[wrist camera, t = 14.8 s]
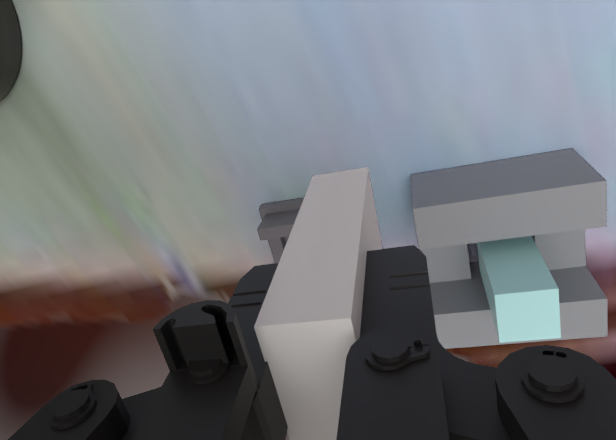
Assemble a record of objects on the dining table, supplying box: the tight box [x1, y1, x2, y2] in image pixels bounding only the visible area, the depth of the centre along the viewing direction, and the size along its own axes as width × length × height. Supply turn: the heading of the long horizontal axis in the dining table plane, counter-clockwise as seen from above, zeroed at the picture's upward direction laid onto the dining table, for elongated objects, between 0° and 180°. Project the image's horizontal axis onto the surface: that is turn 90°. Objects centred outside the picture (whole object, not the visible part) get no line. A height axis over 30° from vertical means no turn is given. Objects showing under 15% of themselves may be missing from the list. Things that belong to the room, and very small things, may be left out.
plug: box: [477, 236, 561, 343], centre depth 36 cm, size 4×4×12 cm
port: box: [411, 148, 607, 349], centre depth 38 cm, size 12×12×7 cm
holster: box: [257, 198, 304, 264], centre depth 43 cm, size 8×9×4 cm
